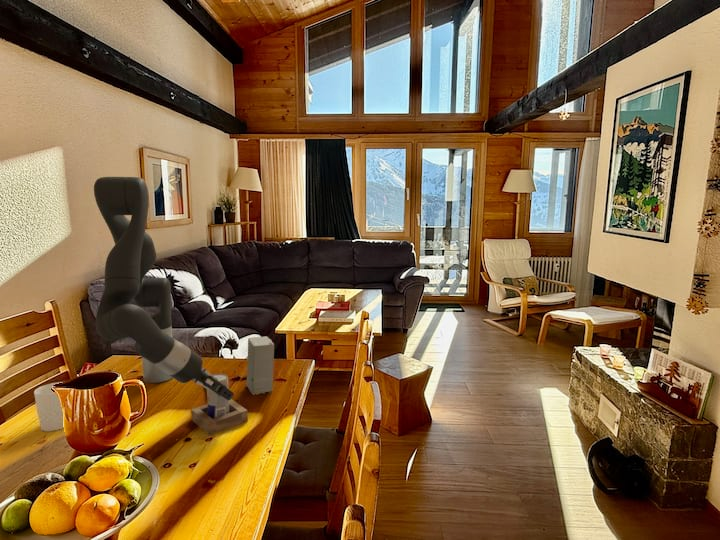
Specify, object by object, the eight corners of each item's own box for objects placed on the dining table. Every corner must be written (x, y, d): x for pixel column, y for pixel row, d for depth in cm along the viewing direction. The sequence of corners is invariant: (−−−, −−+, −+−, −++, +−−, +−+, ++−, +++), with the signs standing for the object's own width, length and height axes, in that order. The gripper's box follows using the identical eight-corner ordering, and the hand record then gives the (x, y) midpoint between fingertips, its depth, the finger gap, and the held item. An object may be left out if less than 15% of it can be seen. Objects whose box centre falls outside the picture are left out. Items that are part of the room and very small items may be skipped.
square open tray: (191, 419, 112) (191, 409, 112) (228, 407, 120) (228, 397, 119) (209, 435, 105) (209, 424, 104) (247, 420, 112) (247, 410, 112)
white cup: (30, 429, 106) (26, 391, 105) (61, 415, 114) (58, 379, 112) (51, 435, 104) (48, 397, 102) (82, 420, 111) (79, 384, 110)
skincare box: (246, 385, 134) (244, 337, 132) (268, 381, 137) (267, 334, 135) (252, 396, 127) (251, 345, 124) (275, 392, 130) (275, 342, 128)
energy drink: (211, 416, 114) (209, 373, 113) (231, 415, 115) (230, 373, 113) (205, 426, 109) (204, 381, 107) (226, 425, 110) (225, 381, 108)
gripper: (200, 355, 99) (246, 387, 108) (176, 340, 109) (220, 371, 118) (178, 382, 96) (227, 413, 106) (156, 365, 106) (202, 395, 116)
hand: (223, 391), depth 112 cm, fingers open, 8 cm apart
